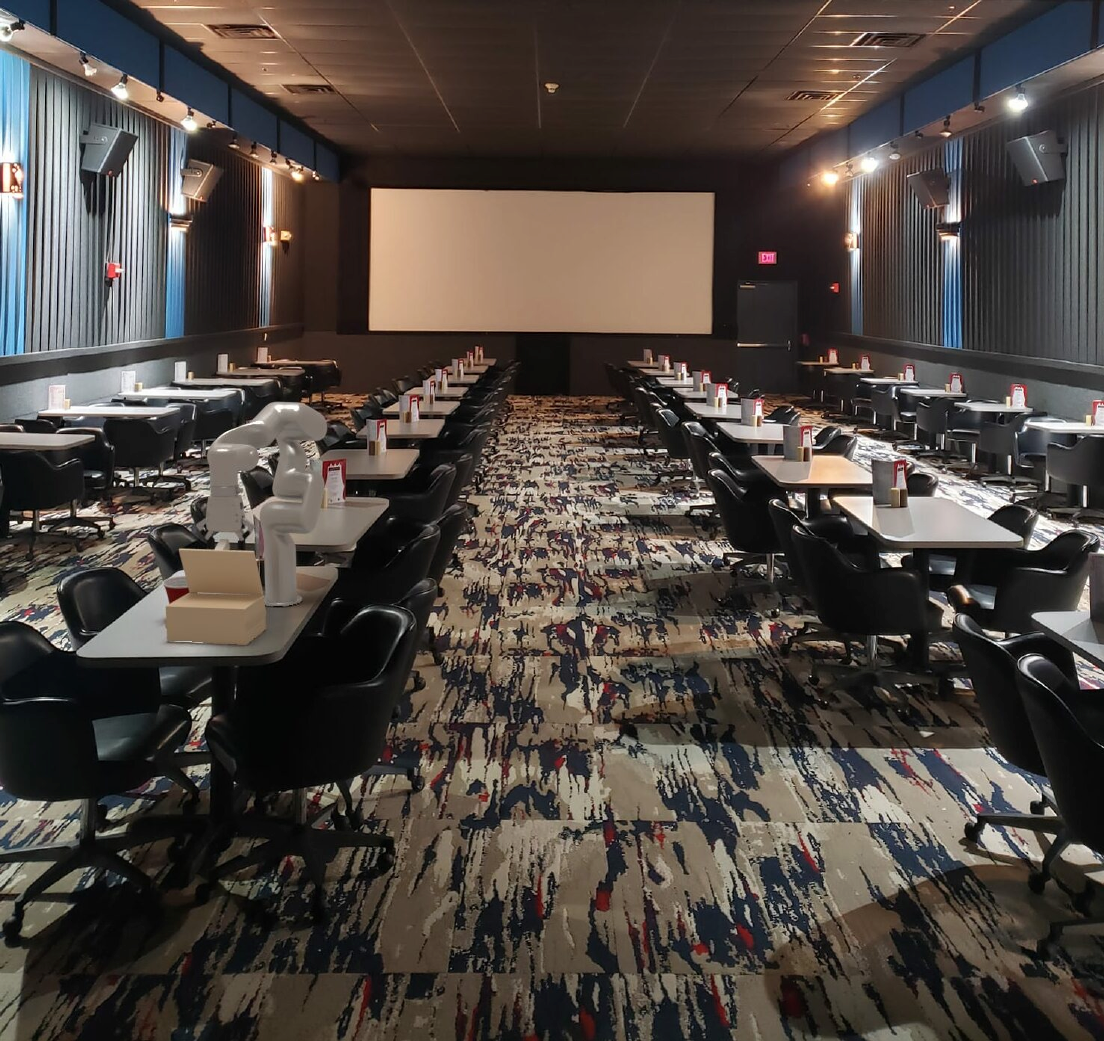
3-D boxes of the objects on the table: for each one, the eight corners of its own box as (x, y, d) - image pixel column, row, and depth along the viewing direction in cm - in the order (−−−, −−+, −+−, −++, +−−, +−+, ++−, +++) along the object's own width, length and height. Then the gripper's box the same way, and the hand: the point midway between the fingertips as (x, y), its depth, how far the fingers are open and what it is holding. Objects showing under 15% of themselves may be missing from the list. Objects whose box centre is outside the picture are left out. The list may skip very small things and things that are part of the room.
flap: (189, 592, 332) (197, 578, 337) (262, 594, 330) (269, 580, 335) (178, 549, 324) (187, 536, 329) (253, 552, 322) (260, 538, 327)
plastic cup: (161, 625, 335) (159, 584, 333) (166, 616, 346) (164, 576, 344) (201, 624, 338) (199, 583, 335) (204, 615, 348) (203, 575, 346)
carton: (189, 627, 334) (188, 592, 333) (266, 629, 332) (265, 595, 331) (166, 642, 319) (164, 606, 317) (246, 645, 317) (245, 609, 315)
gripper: (259, 490, 331) (261, 551, 333) (199, 488, 332) (201, 549, 335) (250, 494, 323) (252, 556, 326) (188, 492, 325) (191, 555, 328)
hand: (226, 553), depth 331 cm, fingers open, 8 cm apart
